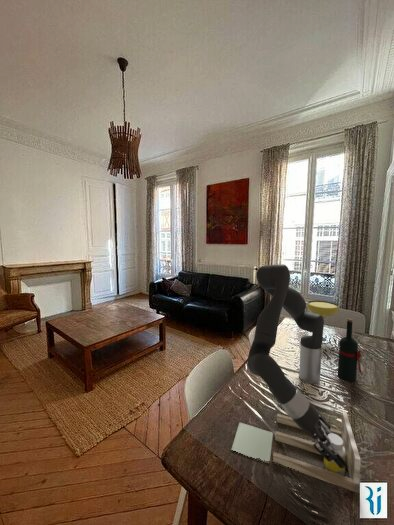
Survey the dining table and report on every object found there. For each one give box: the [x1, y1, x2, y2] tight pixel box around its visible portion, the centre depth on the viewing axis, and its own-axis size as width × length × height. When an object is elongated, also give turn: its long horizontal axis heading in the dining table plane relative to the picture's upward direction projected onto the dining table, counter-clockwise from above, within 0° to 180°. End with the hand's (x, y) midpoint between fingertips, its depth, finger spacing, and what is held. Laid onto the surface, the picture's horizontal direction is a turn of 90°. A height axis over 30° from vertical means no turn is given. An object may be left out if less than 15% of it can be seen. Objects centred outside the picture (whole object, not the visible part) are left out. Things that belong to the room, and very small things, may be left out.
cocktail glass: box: [307, 300, 339, 341], centre depth 151 cm, size 18×18×25 cm
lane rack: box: [273, 410, 362, 494], centre depth 73 cm, size 18×22×10 cm
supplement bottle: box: [323, 433, 346, 476], centre depth 67 cm, size 5×5×10 cm
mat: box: [230, 421, 274, 462], centre depth 77 cm, size 12×12×1 cm
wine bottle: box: [337, 317, 363, 383], centre depth 109 cm, size 8×10×30 cm
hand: (341, 456), depth 66 cm, fingers closed on supplement bottle, 5 cm apart
